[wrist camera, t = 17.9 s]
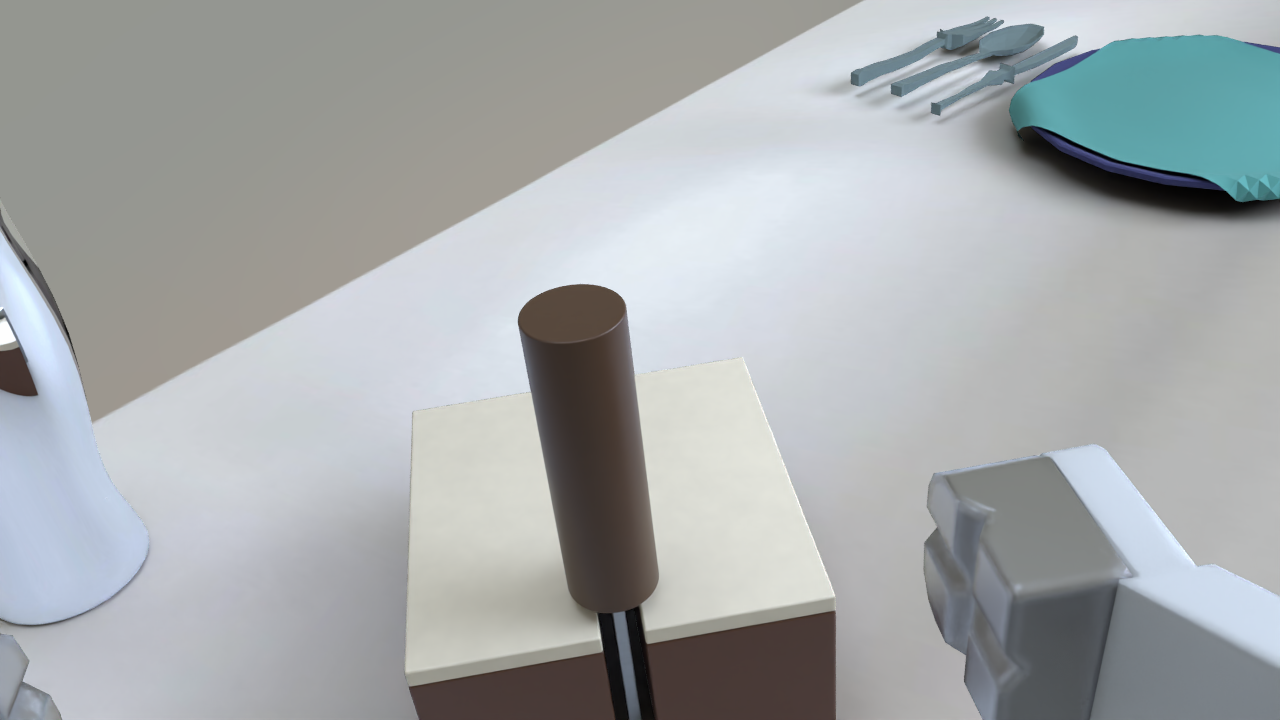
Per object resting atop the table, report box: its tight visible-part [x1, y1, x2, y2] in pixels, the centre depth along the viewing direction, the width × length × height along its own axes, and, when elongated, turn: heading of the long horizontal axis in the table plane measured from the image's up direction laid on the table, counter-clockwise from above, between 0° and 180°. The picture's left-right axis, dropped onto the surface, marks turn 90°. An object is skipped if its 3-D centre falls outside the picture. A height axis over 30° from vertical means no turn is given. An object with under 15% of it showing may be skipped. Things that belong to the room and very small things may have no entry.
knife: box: [518, 284, 659, 720], centre depth 36 cm, size 13×3×15 cm, turn 8°
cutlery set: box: [851, 17, 1280, 202], centre depth 68 cm, size 20×30×2 cm, turn 39°
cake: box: [404, 357, 836, 720], centre depth 38 cm, size 12×12×6 cm
